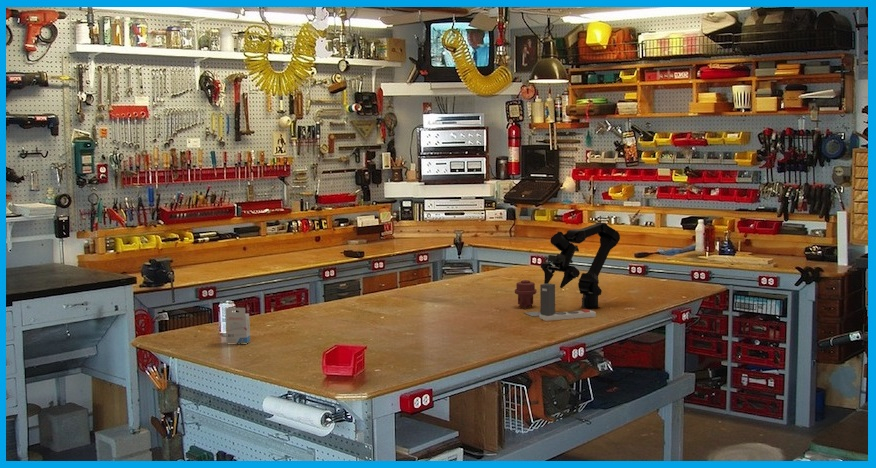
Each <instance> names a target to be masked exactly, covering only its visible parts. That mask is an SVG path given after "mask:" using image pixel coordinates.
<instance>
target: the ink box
mask: <svg viewBox="0 0 876 468" xmlns="http://www.w3.org/2000/svg"><path fill="white" fill-rule="evenodd" d="M235 311H237V312H235ZM250 323H251V322H250V313H246V307H225V337H226V338H225V339H226V341H225V342H226V344H227V343H247V342H249V341H250V342H251V327H250Z"/></svg>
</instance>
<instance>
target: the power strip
mask: <svg viewBox="0 0 876 468" xmlns="http://www.w3.org/2000/svg"><path fill="white" fill-rule="evenodd" d="M574 318H575V319H583V318H587V319H588V318H597V312H596V311H594V310H592V309H586V308H582V309H581V310H571V311H558V312H557V311H555V314H553V315H542V314H540V316H539V319H540V320H542V319H543V321H545V322H546V321H547V322H548V321H559V320H573V319H574Z"/></svg>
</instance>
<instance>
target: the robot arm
mask: <svg viewBox="0 0 876 468" xmlns="http://www.w3.org/2000/svg"><path fill="white" fill-rule="evenodd" d="M595 235H597V236H599V243H600V244H599V248H598V249H597V252H596V254H595V257H594V259H593V260H592V262H591V264H590V267H589V269H588V271H587V272H582V273H581V272H580V270H579V269H578V268H577V267H576V266H574V265H570V264H573V262H574V260H573V257H574V255H575V252H580V249H579V248H578V247H579V246H578V245H575V244H582V243H583V242H584V241H586V239H587V238H589V237H591V236H595ZM620 240H621V235H620V232H619V231H617V230H616V229H615V228H613V227H611V226H609V225H608V224H607V223H606V222H600V221H599V222H596V223H593V224H591V225H588V226H585V227H583V228H580V229H577V228H576V229H574V228H573V229H568V230H566V233H563V232H562V231H557V232H556V233H555V234H553V235H552V236H551V238H550V242H549V243H550V244H551V245H552V246H554V247H555V248H556V249H557V250H558V251H560V252H559V253H557V254H556V255H554V254H553V255H551V254H548V255H547V262H541V265H540V268H541V270H542V271H543V272H544V279H543V281H544V282H543V284H545V283H548V284H550V283H549V282H550V281H552V278H553V276H554V274H555V272H559V273H560V272H561V273H563V277H562V280H561V282H560V286H559V288H560V289H563V288H564V287H565V286H566V285H567V284H569V283H570V282H571V281H573V280H574V279H577V278H579V279H578V283H577V285H578V291H579V294H580V295H582V297H581V308H582V309H588V310H594V309H600V308H601V307H600V306H599V296H601V295H602V292H603V291H602V289H601V288H600V286H599V284H600V282H599V275H600V273H601V271H602V268H603V266H605V265H604V264H605V263H606V260H607V258H608V256H609V253H610V252H611V250H612V249H614V248H615V247H616V246H617V245H618V244H619V241H620Z"/></svg>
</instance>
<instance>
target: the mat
mask: <svg viewBox="0 0 876 468" xmlns="http://www.w3.org/2000/svg"><path fill="white" fill-rule="evenodd" d="M524 314H525V315H527V316H529V317H532V318H535V317H540V311H532V312H530V311H529V312H524Z"/></svg>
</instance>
